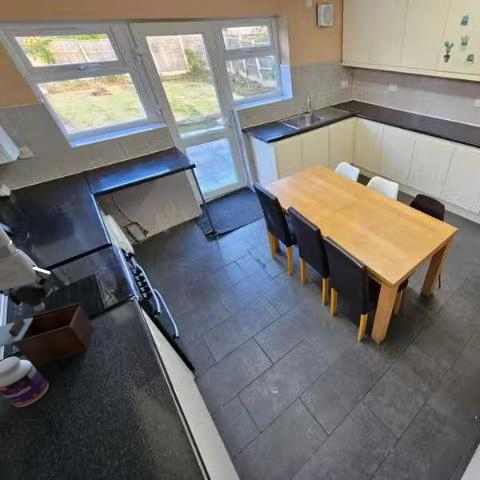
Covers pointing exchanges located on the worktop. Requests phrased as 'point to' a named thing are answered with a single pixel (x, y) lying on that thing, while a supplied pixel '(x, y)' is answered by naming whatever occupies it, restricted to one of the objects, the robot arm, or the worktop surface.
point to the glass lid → (14, 331)
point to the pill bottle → (21, 382)
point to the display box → (56, 335)
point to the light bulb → (30, 297)
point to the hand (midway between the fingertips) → (32, 298)
